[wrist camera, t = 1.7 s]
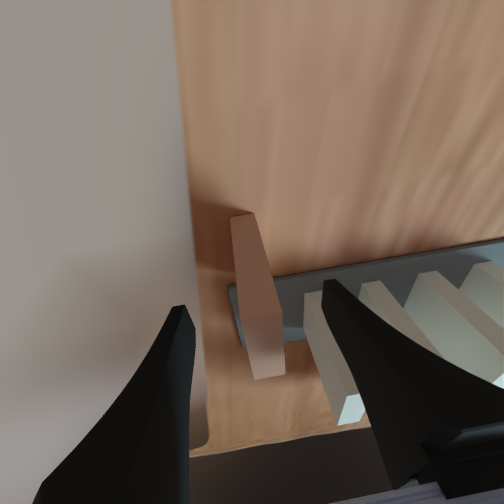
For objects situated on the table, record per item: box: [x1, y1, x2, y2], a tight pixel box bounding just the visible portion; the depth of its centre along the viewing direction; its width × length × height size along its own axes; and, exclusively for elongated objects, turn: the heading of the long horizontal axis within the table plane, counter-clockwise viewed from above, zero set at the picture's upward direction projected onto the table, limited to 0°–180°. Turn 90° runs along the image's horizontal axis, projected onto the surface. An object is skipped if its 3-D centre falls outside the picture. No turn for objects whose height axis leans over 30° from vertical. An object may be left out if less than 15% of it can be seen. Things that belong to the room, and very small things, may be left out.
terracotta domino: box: [230, 213, 285, 380], centre depth 13 cm, size 2×5×8 cm, turn 7°
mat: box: [228, 239, 504, 350], centre depth 22 cm, size 27×9×1 cm, turn 96°
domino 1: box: [303, 290, 365, 426], centre depth 18 cm, size 2×5×8 cm, turn 6°
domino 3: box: [403, 271, 504, 389], centre depth 18 cm, size 2×5×8 cm, turn 6°
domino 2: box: [358, 280, 444, 359], centre depth 18 cm, size 2×5×8 cm, turn 7°
